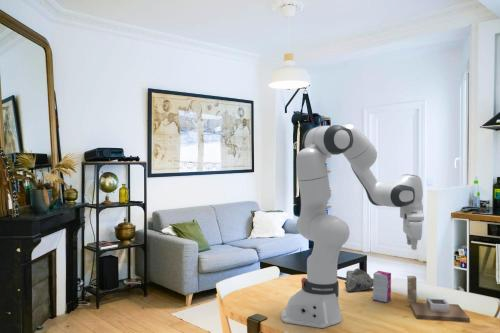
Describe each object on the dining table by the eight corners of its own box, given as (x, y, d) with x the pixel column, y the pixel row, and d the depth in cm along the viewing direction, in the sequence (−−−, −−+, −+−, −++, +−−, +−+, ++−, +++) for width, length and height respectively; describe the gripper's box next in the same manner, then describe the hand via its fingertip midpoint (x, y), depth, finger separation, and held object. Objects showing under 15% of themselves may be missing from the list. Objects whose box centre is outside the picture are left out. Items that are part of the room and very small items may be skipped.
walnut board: (416, 318, 151) (416, 314, 151) (409, 305, 165) (409, 301, 165) (469, 322, 147) (469, 318, 147) (457, 308, 161) (457, 304, 161)
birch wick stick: (408, 301, 169) (408, 277, 169) (407, 299, 172) (407, 275, 172) (416, 302, 168) (416, 278, 168) (415, 299, 171) (414, 276, 171)
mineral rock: (377, 288, 187) (377, 267, 186) (373, 296, 177) (372, 272, 177) (348, 285, 192) (348, 264, 192) (343, 292, 183) (343, 269, 183)
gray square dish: (430, 312, 153) (430, 304, 153) (426, 305, 160) (426, 298, 160) (449, 313, 152) (449, 305, 152) (444, 306, 159) (444, 299, 159)
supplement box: (386, 303, 167) (386, 275, 167) (372, 300, 171) (372, 273, 171) (391, 299, 172) (391, 272, 172) (377, 296, 176) (377, 270, 175)
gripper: (399, 210, 180) (399, 241, 181) (407, 216, 160) (408, 252, 161) (414, 210, 179) (414, 242, 179) (424, 217, 159) (425, 252, 159)
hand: (411, 247), depth 170 cm, fingers open, 8 cm apart
